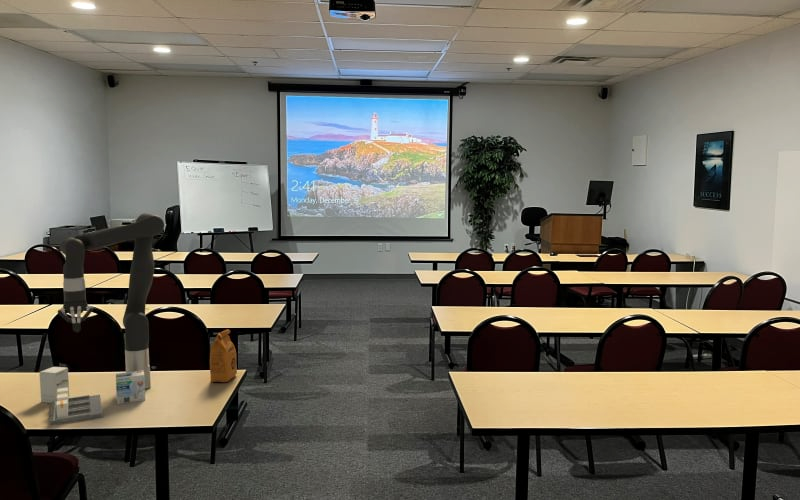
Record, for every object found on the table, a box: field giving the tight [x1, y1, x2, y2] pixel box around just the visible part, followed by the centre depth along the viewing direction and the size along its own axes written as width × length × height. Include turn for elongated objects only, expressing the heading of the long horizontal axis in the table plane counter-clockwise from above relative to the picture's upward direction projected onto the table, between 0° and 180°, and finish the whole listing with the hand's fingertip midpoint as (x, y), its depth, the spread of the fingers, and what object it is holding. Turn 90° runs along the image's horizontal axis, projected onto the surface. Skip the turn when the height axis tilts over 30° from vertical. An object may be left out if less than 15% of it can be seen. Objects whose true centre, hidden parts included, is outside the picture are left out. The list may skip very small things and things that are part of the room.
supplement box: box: [38, 366, 70, 404], centre depth 239 cm, size 7×7×13 cm
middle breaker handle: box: [57, 393, 69, 403], centre depth 226 cm, size 4×4×5 cm
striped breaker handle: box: [56, 400, 68, 418], centre depth 219 cm, size 4×4×5 cm
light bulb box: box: [115, 370, 146, 405], centre depth 240 cm, size 11×7×11 cm, turn 118°
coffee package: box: [209, 329, 238, 383], centre depth 265 cm, size 10×12×22 cm
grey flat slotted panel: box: [49, 394, 104, 427], centre depth 228 cm, size 17×22×2 cm
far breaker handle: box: [57, 387, 69, 400], centre depth 232 cm, size 4×4×5 cm
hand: (76, 331), depth 234 cm, fingers closed
